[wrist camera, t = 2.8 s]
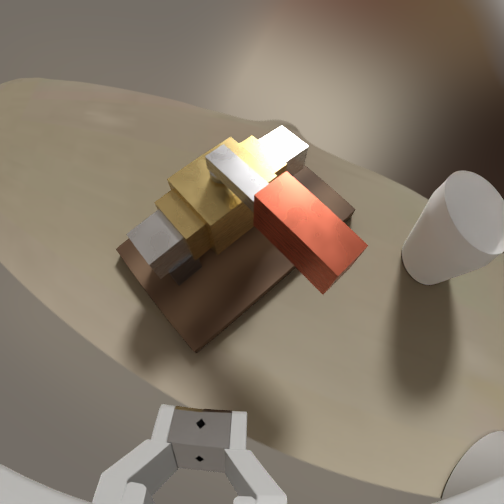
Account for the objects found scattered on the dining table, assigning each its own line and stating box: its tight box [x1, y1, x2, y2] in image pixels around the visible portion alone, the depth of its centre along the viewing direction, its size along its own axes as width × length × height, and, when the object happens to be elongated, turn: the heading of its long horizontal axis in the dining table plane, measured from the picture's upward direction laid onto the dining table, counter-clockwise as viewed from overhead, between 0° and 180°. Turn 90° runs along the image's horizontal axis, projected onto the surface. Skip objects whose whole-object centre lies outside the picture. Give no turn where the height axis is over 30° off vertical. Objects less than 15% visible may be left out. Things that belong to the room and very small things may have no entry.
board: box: [116, 165, 355, 353], centre depth 34 cm, size 14×23×2 cm, turn 132°
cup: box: [402, 171, 504, 285], centre depth 28 cm, size 9×9×12 cm
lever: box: [205, 144, 368, 294], centre depth 22 cm, size 13×3×5 cm, turn 42°
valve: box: [126, 126, 308, 285], centre depth 30 cm, size 6×18×8 cm, turn 132°
